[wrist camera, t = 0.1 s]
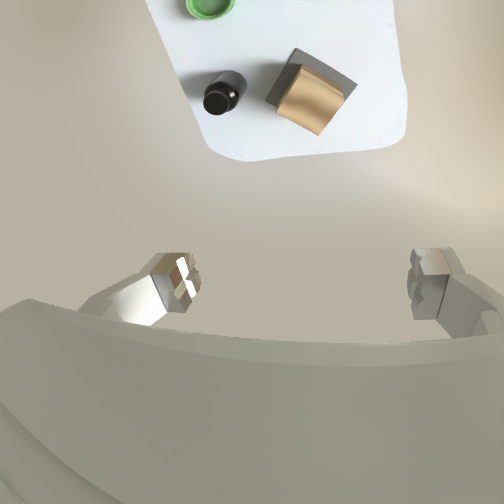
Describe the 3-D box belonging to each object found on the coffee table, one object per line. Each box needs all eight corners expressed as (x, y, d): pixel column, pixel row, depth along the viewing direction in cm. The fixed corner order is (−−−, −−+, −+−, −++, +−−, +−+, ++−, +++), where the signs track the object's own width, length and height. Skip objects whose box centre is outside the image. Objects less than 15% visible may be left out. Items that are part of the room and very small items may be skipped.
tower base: (302, 63, 45) (301, 68, 42) (340, 86, 47) (342, 93, 44) (281, 97, 52) (278, 104, 49) (318, 117, 54) (318, 126, 51)
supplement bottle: (215, 96, 54) (196, 117, 47) (217, 68, 49) (197, 84, 42) (245, 100, 54) (231, 123, 47) (249, 72, 49) (235, 89, 42)
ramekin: (193, -17, 33) (184, -18, 31) (238, -20, 32) (233, -22, 30) (193, 19, 40) (185, 21, 38) (237, 18, 40) (231, 20, 37)
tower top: (301, 68, 42) (300, 74, 40) (342, 93, 44) (345, 100, 42) (278, 104, 49) (276, 112, 46) (318, 126, 51) (318, 136, 48)
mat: (296, 48, 43) (296, 48, 43) (357, 84, 46) (357, 84, 46) (265, 100, 54) (265, 100, 53) (321, 130, 57) (321, 131, 56)
